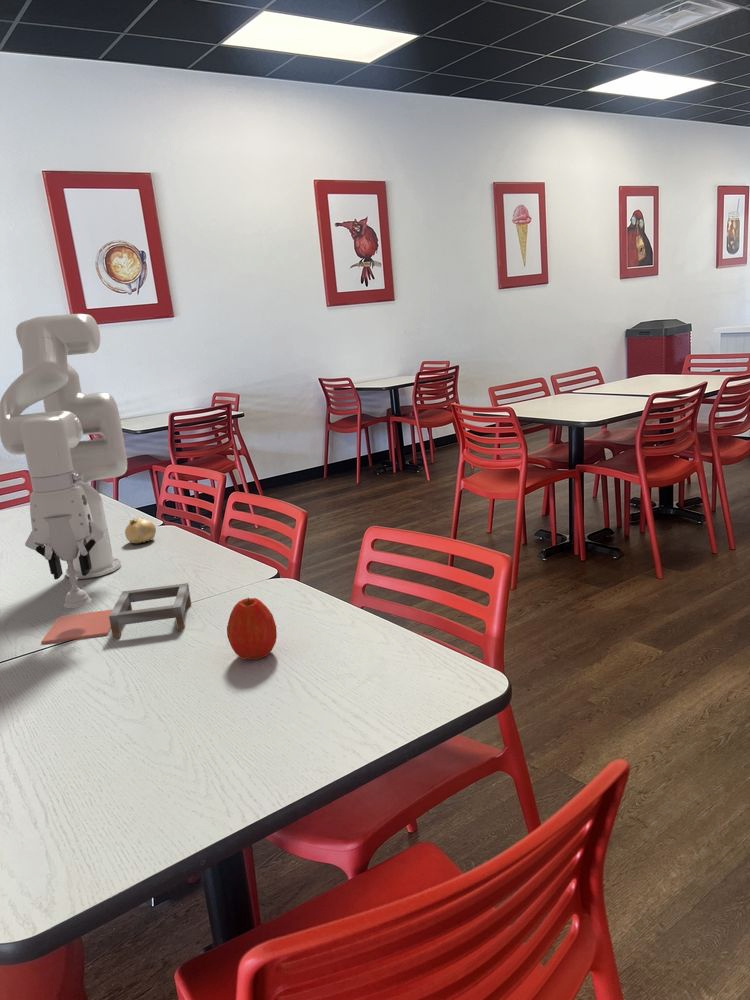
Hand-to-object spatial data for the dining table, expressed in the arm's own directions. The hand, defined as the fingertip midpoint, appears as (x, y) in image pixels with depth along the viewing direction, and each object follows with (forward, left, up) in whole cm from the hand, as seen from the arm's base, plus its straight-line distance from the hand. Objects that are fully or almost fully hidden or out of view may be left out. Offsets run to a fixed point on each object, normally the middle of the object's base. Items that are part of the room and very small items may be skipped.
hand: (72, 574), depth 137 cm
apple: (+24, +34, -11) cm, 43 cm away
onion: (-57, +2, -11) cm, 58 cm away
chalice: (0, 0, -6) cm, 6 cm away
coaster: (0, 0, -11) cm, 11 cm away
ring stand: (+2, +14, -11) cm, 18 cm away
